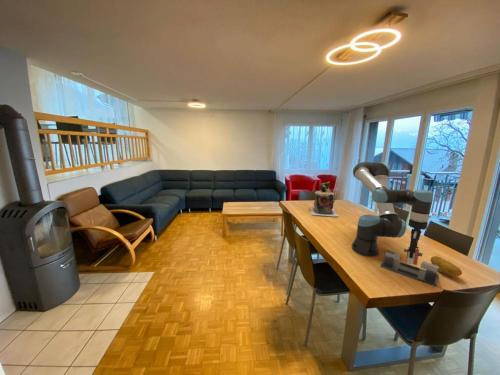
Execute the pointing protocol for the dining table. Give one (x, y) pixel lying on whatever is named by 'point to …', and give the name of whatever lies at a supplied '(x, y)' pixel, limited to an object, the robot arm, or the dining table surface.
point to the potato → (446, 266)
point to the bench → (411, 269)
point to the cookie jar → (324, 202)
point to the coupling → (415, 255)
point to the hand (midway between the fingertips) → (410, 260)
